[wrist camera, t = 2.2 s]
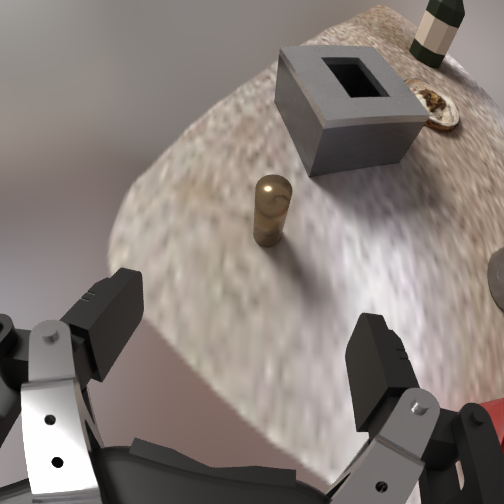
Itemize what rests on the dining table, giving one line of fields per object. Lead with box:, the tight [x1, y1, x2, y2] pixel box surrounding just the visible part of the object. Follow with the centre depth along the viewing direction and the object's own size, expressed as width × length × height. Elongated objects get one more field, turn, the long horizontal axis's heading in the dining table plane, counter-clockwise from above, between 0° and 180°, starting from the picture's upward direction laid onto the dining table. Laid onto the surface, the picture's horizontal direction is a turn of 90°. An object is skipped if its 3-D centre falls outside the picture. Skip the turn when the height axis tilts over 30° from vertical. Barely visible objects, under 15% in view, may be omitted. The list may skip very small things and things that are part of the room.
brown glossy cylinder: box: [253, 175, 292, 247], centre depth 29 cm, size 3×3×9 cm
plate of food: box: [404, 78, 459, 133], centre depth 40 cm, size 15×15×4 cm
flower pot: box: [479, 398, 504, 454], centre depth 20 cm, size 11×11×10 cm
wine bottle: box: [409, 0, 465, 68], centre depth 35 cm, size 8×8×30 cm
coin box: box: [274, 45, 430, 177], centre depth 34 cm, size 14×14×10 cm
